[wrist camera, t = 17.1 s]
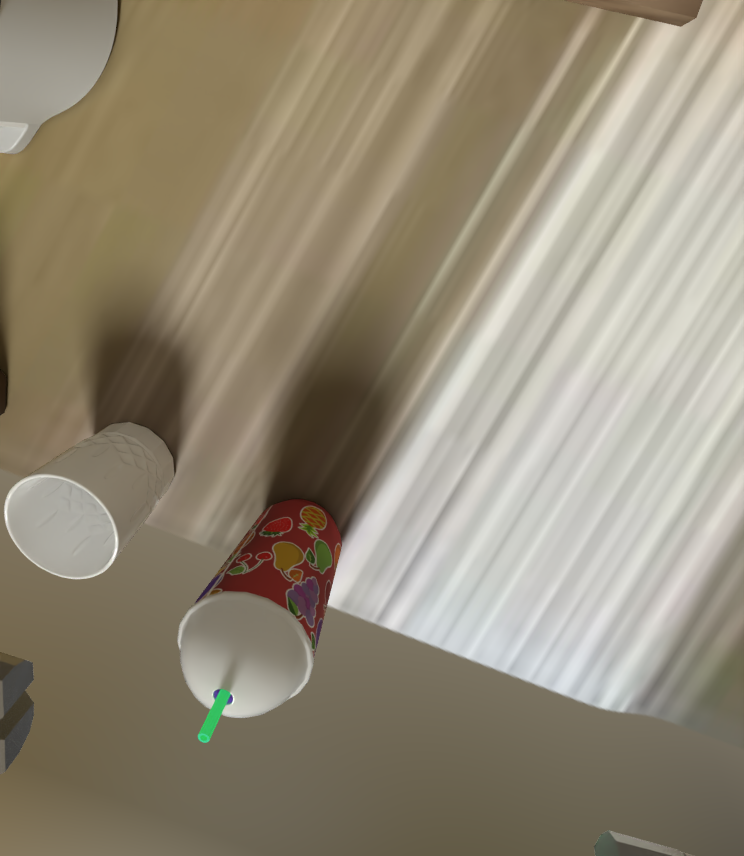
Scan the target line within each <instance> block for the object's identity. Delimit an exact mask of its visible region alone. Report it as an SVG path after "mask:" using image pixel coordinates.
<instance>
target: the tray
mask: <svg viewBox="0 0 744 856" xmlns="http://www.w3.org/2000/svg"><path fill="white" fill-rule="evenodd" d="M566 1H570V2H574V3H579V4H583V5H588V6H592V7H597V8H601V9H605V10H610V11H614V12H619V13H623V14H628V15H632V16H637V17H641V18H645V19H650V20H654V21H659V22H663V23H668V24H672V25H677V26H683V25H684V24H686V23H688V22H690V21H691V20H693V19H695V18H696V17H697V15H698V12H699V9H700V6H701V4H702V1H703V0H566Z"/></svg>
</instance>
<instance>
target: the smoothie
mask: <svg viewBox="0 0 744 856" xmlns="http://www.w3.org/2000/svg"><path fill="white" fill-rule="evenodd" d="M341 547H342V543H341V537H340V532H339V530H338V528H337V526H336V524H335V522H334V520H333V518H332V516H331V515H330V514H329V513H328V512H327V511H326V510H325V509H324V508H323V507H321V506H319V505H318V504H316V503H314V502H311V501H307V500H304V499H290V500H287V501H283V502H280V503H277V504H274V505H271V506H270V507H269V508H267V509H266V510H265V511H264V512H262V514H261V515H260V517H259V518H258V519H257V521H256V522H255V523H254V525H253V526H252V527H251V529H250V530H249V531H248V533H247V534H246V535H245V537H244V538H243V539H242V541H241V542H240V543H239V545H238V546H237V547H236V549H235V550H234V551H233V553H232V554H231V555H230V557H229V558H228V559H227V561H226V562H225V563H224V565H223V566H222V567H221V569H220V570H219V571H218V573H217V574H216V575H215V577H214V578H213V579H212V581H211V582H210V583H209V585H208V586H207V587H206V589H205V590H204V591H203V593H202V594H201V595H200V597H199V598H198V599H197V601H196V602H195V604H194V605H193V606H191V607H190V608H189V609H188V611H187V613H186V614H185V616H184V617H183V619H182V621H181V622H180V626H179V632H178V639H177V641H178V645H179V649H180V662H181V666H182V670H183V675H184V678H185V682H186V683H187V685H188V686H189V688H190V690H191V691H192V693H193V695H194V696H195V698H196V699H198V700H199V701H200V702H201V703H202V704H203V705H204V706H205V707H207V708H209V709H210V712H209V714H208V716H207V718H206V720H205V722H204V724H203V726H202V729H201V731H200V733H199V735H198V739H199V740H200V741H201V742H204V743H206V742H208V741H209V740H210V737H211V735H212V733H213V731H214V729H215V727H216V725H217V723H218V720H219V718H220V716H221V715H224V716H228V717H233V718H247V717H252V716H257V715H262V714H264V713H266V712H268V711H270V710H272V709H274V708H276V707H277V706H279V705H281V704H282V703H283V702H285V701H286V700H287V699H289V698H291V697H293V696H295V695H296V694H298V693H299V692H300V691H301V690H302V689H303V687H304V686H305V685H306V684H307V682H308V681H309V679H310V675H311V671H312V667H313V664H314V655H315V652H316V647H317V644H318V640H319V636H320V631H321V628H322V623H323V620H324V616H325V612H326V608H327V604H328V600H329V596H330V592H331V588H332V584H333V580H334V576H335V572H336V568H337V564H338V560H339V556H340V551H341Z"/></svg>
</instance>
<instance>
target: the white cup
mask: <svg viewBox="0 0 744 856" xmlns="http://www.w3.org/2000/svg"><path fill="white" fill-rule="evenodd" d="M173 478H174V462H173V457H172V455H171V453H170V451H169V450H168V448H167V446H166V444H165V442H164V441H163V440H162V439H161V438H160V437H158V436H157V435H156V434H155V433H153V432H152V431H151V430H150V429H149V428H146V427H143V426H140V425H137V424H134V423H131V422H125V423H117V424H111V425H109V426H108V427H106V428H105V429H103V430H102V431H100V432H99V433H97V434H95V435H94V436H92V437H90V438H87V439H85V440H83V441H82V442H80V443H78V444H76V445H75V446H73V447H71V448H69V449H68V450H66V451H65V452H63V453H62V454H60V455H59V456H57V457H56V458H54V459H52V460H51V461H49V462H48V463H46V464H45V465H43V466H42V467H40V468H39V469H37V470H35V471H34V472H32V473H31V474H29V475H28V476H26V477H25V478H23V479H21V480H20V481H18V482H17V483H16V484H15V485H14V486H13V487H12V488H11V490H10V491H9V493H8V495H7V498H6V501H5V507H4V516H5V522H6V526H7V529H8V531H9V534H10V536H11V538H12V540H13V541H14V543H15V544H16V546H17V547H18V548H19V550H20V551H21V552H22V553H23V554H24V555H25V556H26V557H27V558H28V559H29V560H30V561H32V562H33V563H34V564H36V565H37V566H39V567H40V568H42V569H44V570H45V571H47V572H50V573H52V574H54V575H57V576H61V577H64V578H70V579H85V578H91V577H94V576H96V575H99V574H100V573H102V572H104V571H105V570H106V569H107V568H109V566H110V565H111V564H112V563H113V562H114V560H115V559H116V558H117V556H118V555H119V554H120V553H121V551H122V550H123V549H124V548H125V546H126V545H127V544H128V542H129V541H130V540H131V539H132V537H133V536H134V535H135V534H136V532H137V531H138V530H139V528H140V527H141V526H142V525H143V524H144V522H145V521H146V519H147V518H148V516H149V515H150V514H151V513H152V511H153V510H154V508H155V507H156V505H157V504H158V502H159V500H160V499H161V498H162V497H163V495H164V494H165V493H166V492H167V490H168V488H169V486H170V484H171V482H172V480H173Z"/></svg>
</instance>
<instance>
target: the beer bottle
mask: <svg viewBox="0 0 744 856" xmlns="http://www.w3.org/2000/svg"><path fill="white" fill-rule="evenodd" d="M6 378H7V377H6V376H5V375H4V373H3V372H2V371H1V369H0V415H1V414H3V413H4V412H5V408H6Z"/></svg>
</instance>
